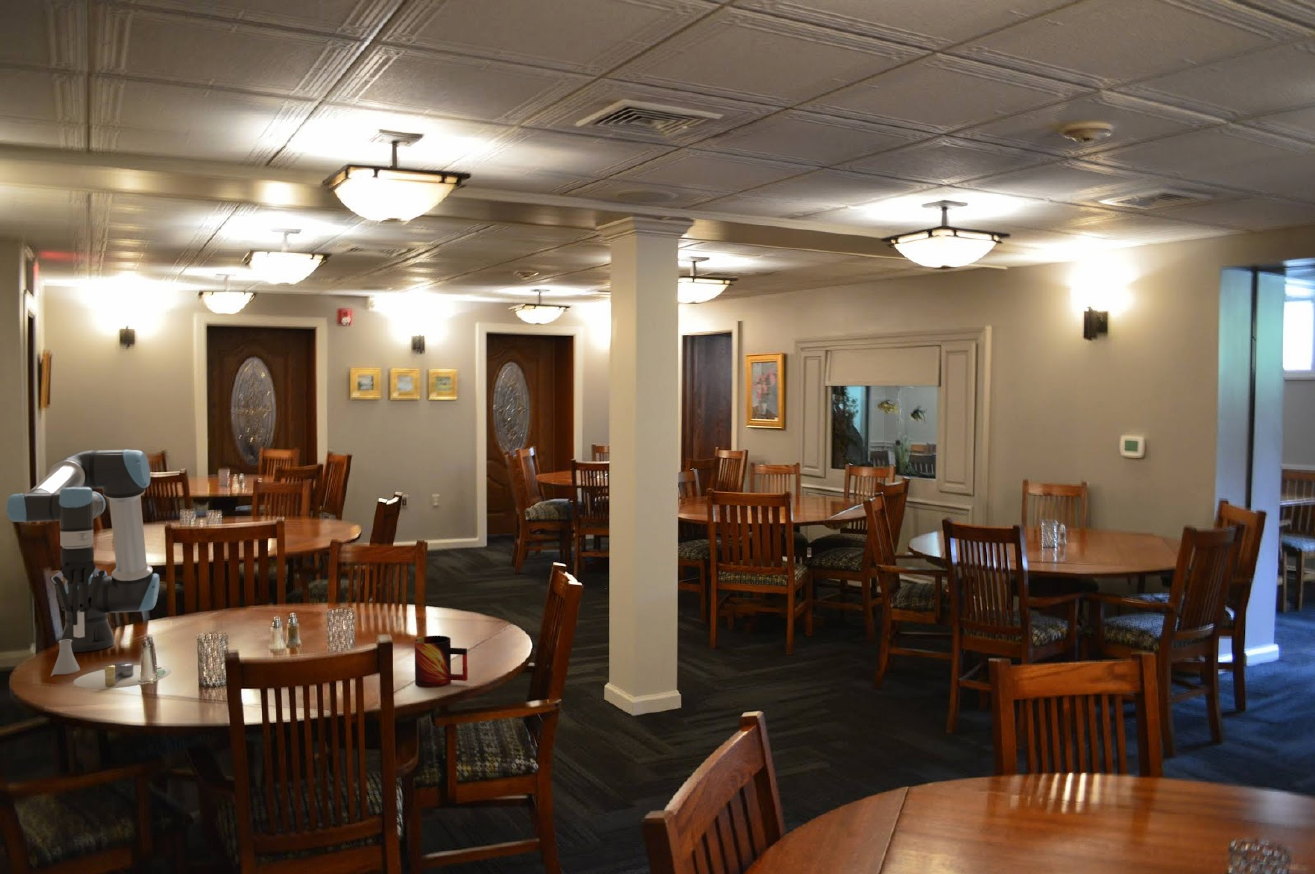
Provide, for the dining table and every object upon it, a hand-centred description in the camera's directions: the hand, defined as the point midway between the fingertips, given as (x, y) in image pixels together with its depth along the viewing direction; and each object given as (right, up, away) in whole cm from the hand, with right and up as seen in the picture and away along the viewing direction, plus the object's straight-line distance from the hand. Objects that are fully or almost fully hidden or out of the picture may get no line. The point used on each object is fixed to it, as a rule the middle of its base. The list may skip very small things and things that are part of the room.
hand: (79, 636), depth 261 cm
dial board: (+3, -16, +17) cm, 23 cm away
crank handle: (+3, -14, +12) cm, 19 cm away
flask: (-17, -16, +22) cm, 32 cm away
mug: (+91, -16, +14) cm, 94 cm away
